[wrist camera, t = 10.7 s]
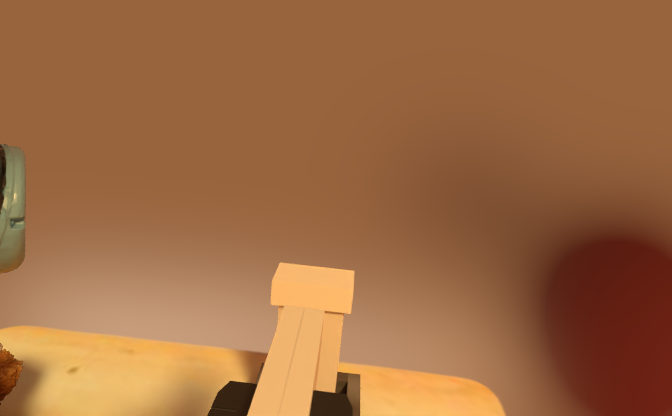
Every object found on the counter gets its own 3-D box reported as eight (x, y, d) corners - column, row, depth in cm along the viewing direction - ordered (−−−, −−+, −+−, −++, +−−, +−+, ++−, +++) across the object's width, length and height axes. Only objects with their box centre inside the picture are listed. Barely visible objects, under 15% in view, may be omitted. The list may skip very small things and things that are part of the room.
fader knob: (338, 456, 34) (357, 295, 29) (257, 446, 34) (265, 285, 30) (341, 410, 38) (358, 266, 34) (270, 401, 39) (278, 257, 34)
